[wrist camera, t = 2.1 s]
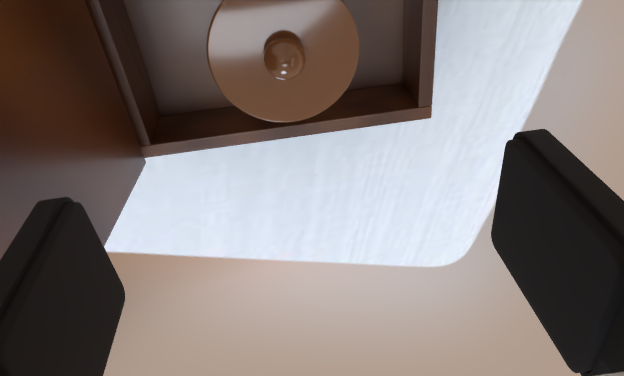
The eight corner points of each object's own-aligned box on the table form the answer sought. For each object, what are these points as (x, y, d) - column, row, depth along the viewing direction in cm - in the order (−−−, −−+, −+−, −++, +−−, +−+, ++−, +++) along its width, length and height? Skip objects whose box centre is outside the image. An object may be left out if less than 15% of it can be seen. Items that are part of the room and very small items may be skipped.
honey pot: (325, -73, 23) (362, -32, 15) (334, 42, 27) (368, 126, 19) (208, -58, 23) (183, -8, 15) (232, 56, 27) (223, 146, 19)
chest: (418, -181, 22) (449, -187, 18) (411, 87, 30) (431, 118, 26) (65, -136, 21) (28, -134, 18) (154, 122, 30) (141, 159, 26)
